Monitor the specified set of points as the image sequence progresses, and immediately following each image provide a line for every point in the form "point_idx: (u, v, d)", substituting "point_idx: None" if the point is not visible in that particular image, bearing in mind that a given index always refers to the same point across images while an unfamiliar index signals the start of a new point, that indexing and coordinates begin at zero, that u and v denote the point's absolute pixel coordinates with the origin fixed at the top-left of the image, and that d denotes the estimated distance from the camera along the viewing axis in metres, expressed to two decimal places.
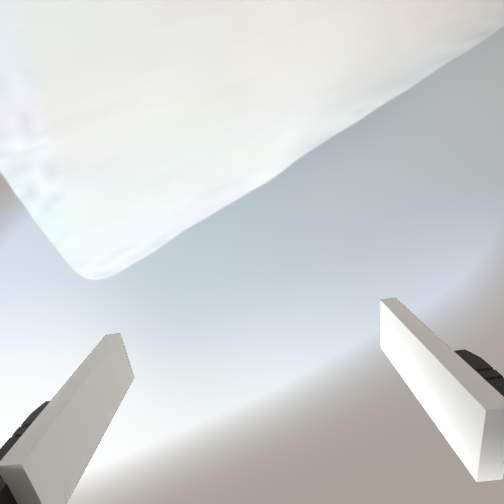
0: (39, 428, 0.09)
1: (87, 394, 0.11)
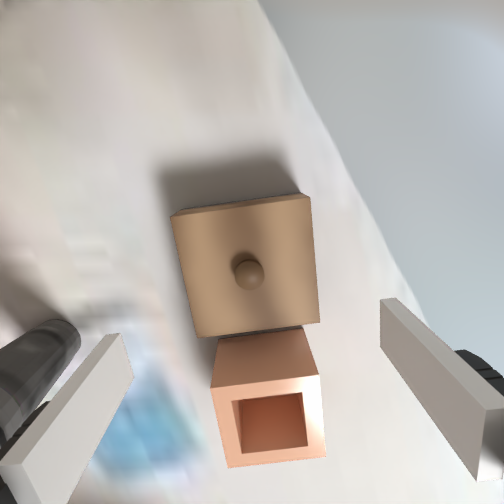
0: (39, 428, 0.09)
1: (87, 394, 0.11)
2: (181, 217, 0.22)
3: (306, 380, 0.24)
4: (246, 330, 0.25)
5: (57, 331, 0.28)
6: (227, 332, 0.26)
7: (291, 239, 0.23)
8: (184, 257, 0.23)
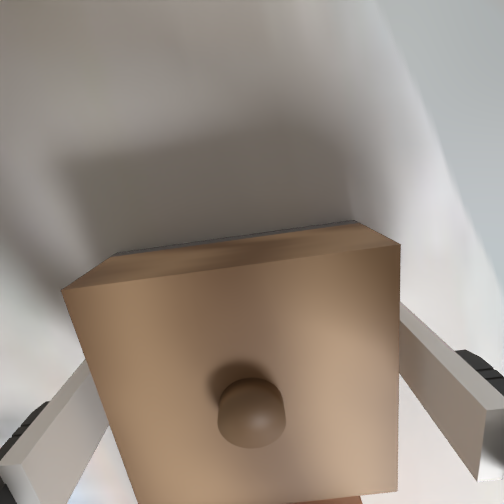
0: (39, 428, 0.09)
1: (87, 394, 0.11)
2: (89, 290, 0.09)
3: None
4: None
5: None
6: None
7: (348, 337, 0.10)
8: (103, 374, 0.10)
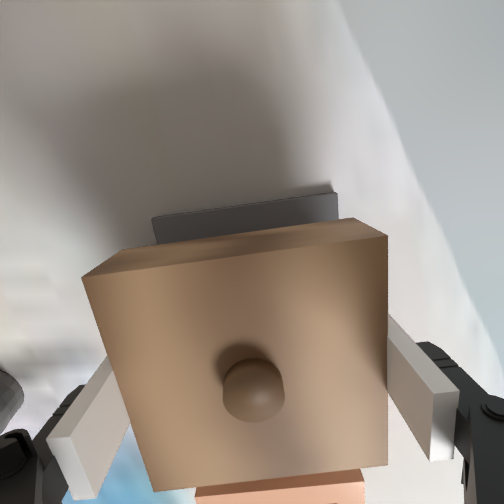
0: (80, 406, 0.10)
1: None
2: (106, 277, 0.10)
3: (344, 488, 0.15)
4: (247, 479, 0.13)
5: None
6: (211, 482, 0.13)
7: (341, 320, 0.11)
8: (119, 355, 0.11)
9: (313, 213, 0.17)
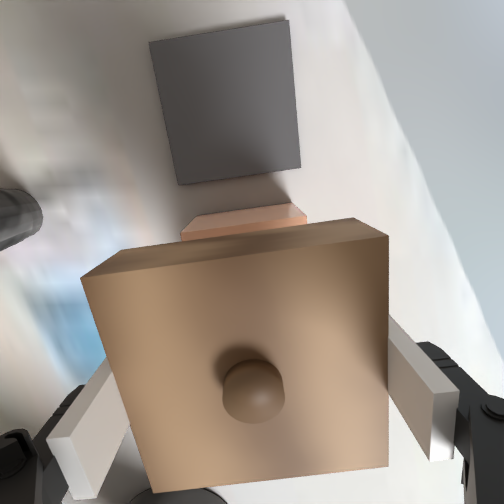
0: (80, 406, 0.10)
1: None
2: (105, 278, 0.10)
3: (292, 223, 0.20)
4: (247, 480, 0.13)
5: (11, 193, 0.24)
6: (210, 483, 0.13)
7: (341, 321, 0.11)
8: (118, 356, 0.11)
9: (271, 38, 0.22)
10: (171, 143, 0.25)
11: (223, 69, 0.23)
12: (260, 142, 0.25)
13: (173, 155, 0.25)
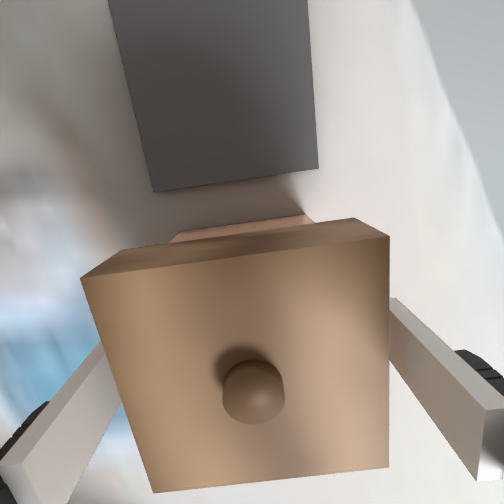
0: (39, 428, 0.09)
1: (87, 394, 0.11)
2: (105, 278, 0.10)
3: None
4: (247, 480, 0.13)
5: None
6: (210, 483, 0.13)
7: (342, 322, 0.11)
8: (118, 356, 0.11)
9: None
10: (142, 136, 0.18)
11: (211, 31, 0.16)
12: (263, 134, 0.18)
13: (145, 152, 0.18)
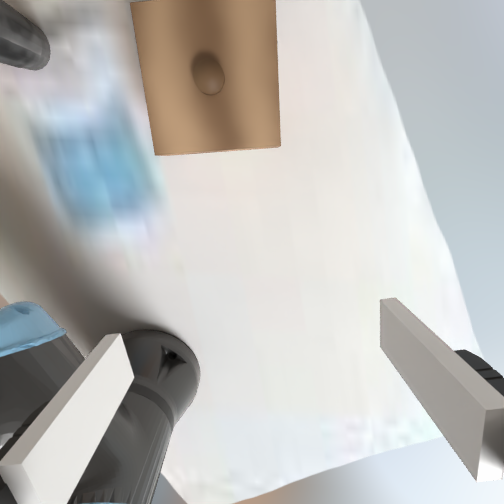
0: (39, 428, 0.09)
1: (87, 394, 0.11)
2: (142, 3, 0.22)
3: None
4: (205, 149, 0.25)
5: (26, 18, 0.29)
6: (186, 150, 0.25)
7: (254, 40, 0.22)
8: (143, 54, 0.23)
9: None
10: None
11: None
12: None
13: None
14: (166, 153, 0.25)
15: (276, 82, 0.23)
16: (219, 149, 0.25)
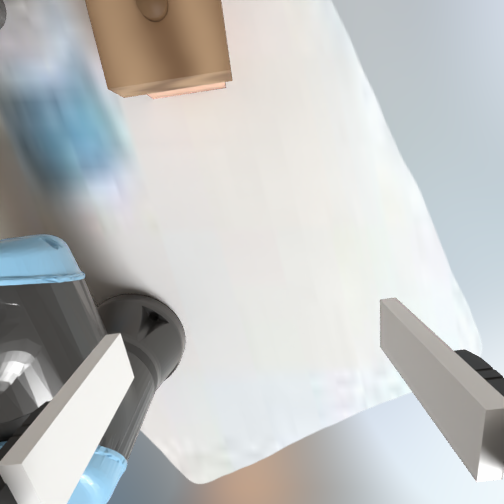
0: (39, 428, 0.09)
1: (87, 394, 0.11)
2: None
3: None
4: (156, 79, 0.25)
5: None
6: (137, 82, 0.25)
7: None
8: None
9: None
10: None
11: None
12: None
13: None
14: (119, 86, 0.25)
15: (218, 3, 0.24)
16: (170, 78, 0.25)
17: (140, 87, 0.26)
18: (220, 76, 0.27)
